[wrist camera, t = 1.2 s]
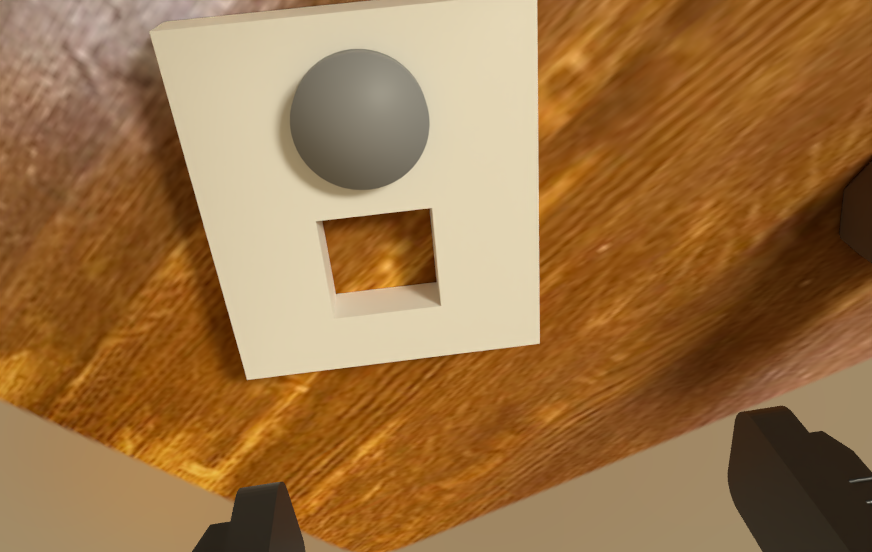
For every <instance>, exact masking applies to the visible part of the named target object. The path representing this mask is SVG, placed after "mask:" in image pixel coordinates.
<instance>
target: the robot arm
mask: <svg viewBox="0 0 872 552" xmlns="http://www.w3.org/2000/svg"><path fill="white" fill-rule="evenodd" d="M728 484H729V489H730V493H731V496H732V499H733V501H734V504H735V506H736V508H737V510H738V512H739V513H740V515H741V517H742V518H743V520H744V522H745V523H746V525H747V527H748V528H749V530H750V532H751V533H752V535H753V536H754V538H755V539H756V541H757V543H758V545H759V546H760V548H761V550H762V551H763V552H872V472H871V471H870V470H869V469H868V467H867V466H866V465H865V464H864V463H863V462H862V461H861V459H860V458H859V457H858V456H857V455H856V454H855V453H854V451H852V450H851V449H850V448H848V447H847V446H845V445H843V444H842V443H840V442H839V441H837V440H836V439H834V438H833V437H831V436H829V435H828V434H826V433H825V432H823V431H819V432H812V433H809V432H808V431H807V430H806V428H805V427H804V426H803V425H802V423H801V422H800V421H799V420H798V419H797V417H796V416H795V415H794V414H793V413H792V411H791V410H789V409H788V408H787V407H785V406H777V407H770V408H764V409H757V410H751V411H744V412H740V413H738V415H737V416H736V419H735V425H734V432H733V439H732V447H731V453H730V460H729V467H728ZM192 552H305V546H304V541H303V537H302V534H301V531H300V528H299V525H298V522H297V518H296V515H295V512H294V509H293V506H292V503H291V500H290V497H289V494H288V491H287V488H286V485H285V484H284V482H276V483H270V484H263V485H257V486H251V487H244V488H240V489H239V490H238V492H237V494H236V498H235V502H234V507H233V512H232V517H231V521H230V522H225V523H218V524H212V525H210V526H209V527H208V529H207V530H206V532H205V533H204V535H203V536H202V538H201V539H200V541H199V542H198V544H197V545H196V547H195V548H194V549H193V551H192Z"/></svg>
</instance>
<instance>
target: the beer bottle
mask: <svg viewBox="0 0 872 552" xmlns="http://www.w3.org/2000/svg"><path fill="white" fill-rule="evenodd" d="M839 235H840V238H841V239H842V240H843V241H844V242H845V243H847V244H848V245H849V246H850V247H851V248H852V249H854V250H855V251H856V252H857V253H858V254H860V255H861V256H862V257H864V258H865V259H867V260H868V261H869V262H871V263H872V161H871V162H870V163H869V164H868V165H867V166H866V167H865V168H864V169H863V170H862V171H861V172H860V173H859V174H858V175H857V176H856V177H855V178H854V179H853V180H852V181H851V183H850V184H849V185H848V186H847V187H846V188H845V189H844V193H843V202H842V212H841V221H840V231H839Z"/></svg>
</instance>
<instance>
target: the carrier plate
mask: <svg viewBox="0 0 872 552" xmlns="http://www.w3.org/2000/svg"><path fill="white" fill-rule="evenodd" d="M149 33H150V36H151V40H152V43H153V47H154V50H155V54H156V57H157V61H158V65H159V68H160V72H161V75H162V79H163V82H164V86H165V89H166V93H167V97H168V100H169V104H170V107H171V111H172V114H173V118H174V121H175V125H176V129H177V132H178V136H179V139H180V143H181V146H182V150H183V153H184V157H185V161H186V164H187V168H188V171H189V175H190V178H191V182H192V185H193V189H194V193H195V196H196V200H197V203H198V207H199V210H200V214H201V217H202V221H203V225H204V228H205V232H206V235H207V239H208V242H209V246H210V249H211V253H212V257H213V260H214V264H215V267H216V271H217V274H218V278H219V281H220V285H221V289H222V292H223V296H224V299H225V303H226V306H227V310H228V313H229V317H230V321H231V324H232V328H233V331H234V335H235V338H236V342H237V345H238V349H239V353H240V356H241V360H242V363H243V367H244V370H245V374H246V377H247V380H250V379H258V378H266V377H274V376H282V375H290V374H299V373H307V372H315V371H323V370H331V369H339V368H347V367H355V366H363V365H371V364H379V363H387V362H395V361H403V360H411V359H419V358H427V357H435V356H443V355H451V354H460V353H468V352H476V351H484V350H492V349H500V348H508V347H516V346H524V345H532V344H540V323H539V188H538V53H537V0H371V1H362V2H352V3H342V4H332V5H322V6H313V7H303V8H293V9H283V10H273V11H264V12H254V13H244V14H234V15H224V16H215V17H205V18H195V19H185V20H175V21H165V22H163V23H162V24H160V25H159V26H157V27H156V28H154V29H153V30H151V31H150V32H149ZM427 208H430V218H431V229H432V239H433V250H434V260H435V271H436V281H437V282H433V283H424V284H416V285H408V286H399V287H391V288H383V289H374V290H366V291H358V292H349V293H341V294H336V293H335V287H334V282H333V276H332V271H331V266H330V260H329V255H328V249H327V244H326V238H325V233H324V227H323V222H322V221H323V220H332V219H340V218H349V217H358V216H366V215H375V214H384V213H392V212H401V211H410V210H418V209H427Z"/></svg>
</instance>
